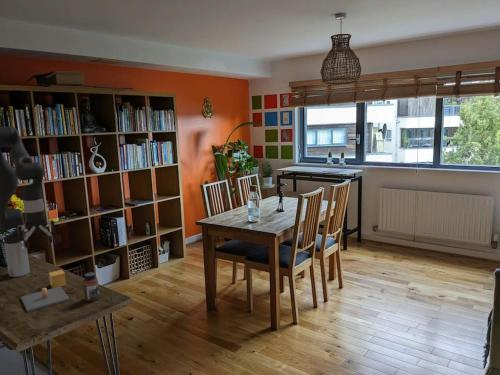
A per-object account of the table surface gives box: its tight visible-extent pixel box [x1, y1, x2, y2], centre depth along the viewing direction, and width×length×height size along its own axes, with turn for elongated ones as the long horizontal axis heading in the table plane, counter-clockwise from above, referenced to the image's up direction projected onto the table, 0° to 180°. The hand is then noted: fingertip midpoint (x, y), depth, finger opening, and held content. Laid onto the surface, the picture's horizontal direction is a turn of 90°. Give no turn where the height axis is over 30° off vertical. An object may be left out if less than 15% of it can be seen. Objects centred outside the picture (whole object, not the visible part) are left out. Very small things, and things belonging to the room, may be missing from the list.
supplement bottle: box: [82, 271, 101, 302], centre depth 168 cm, size 6×6×11 cm
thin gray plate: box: [20, 286, 71, 313], centre depth 169 cm, size 16×16×5 cm
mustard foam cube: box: [48, 269, 67, 289], centre depth 183 cm, size 6×6×6 cm
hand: (38, 246), depth 169 cm, fingers open, 8 cm apart
